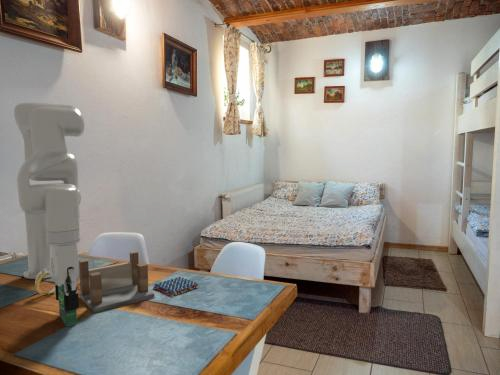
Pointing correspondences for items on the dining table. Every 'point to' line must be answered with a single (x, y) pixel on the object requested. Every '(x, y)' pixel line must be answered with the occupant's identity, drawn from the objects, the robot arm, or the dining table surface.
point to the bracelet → (40, 280)
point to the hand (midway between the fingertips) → (67, 303)
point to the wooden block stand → (114, 284)
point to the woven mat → (175, 286)
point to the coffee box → (68, 316)
